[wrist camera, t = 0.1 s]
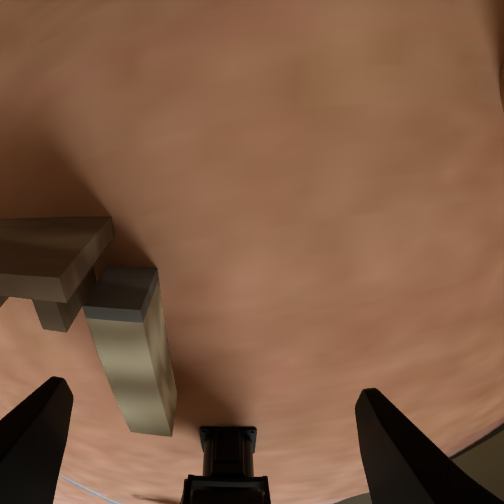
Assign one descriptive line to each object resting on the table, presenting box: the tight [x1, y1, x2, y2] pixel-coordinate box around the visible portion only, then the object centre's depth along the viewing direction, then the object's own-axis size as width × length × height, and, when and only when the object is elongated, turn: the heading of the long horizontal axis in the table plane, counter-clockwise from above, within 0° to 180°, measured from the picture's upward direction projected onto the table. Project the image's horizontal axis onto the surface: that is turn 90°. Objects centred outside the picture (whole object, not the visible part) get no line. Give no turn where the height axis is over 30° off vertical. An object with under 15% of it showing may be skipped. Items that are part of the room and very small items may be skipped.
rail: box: [83, 266, 178, 437], centre depth 24 cm, size 15×4×5 cm, turn 178°
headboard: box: [0, 217, 114, 332], centre depth 18 cm, size 6×14×8 cm, turn 87°
